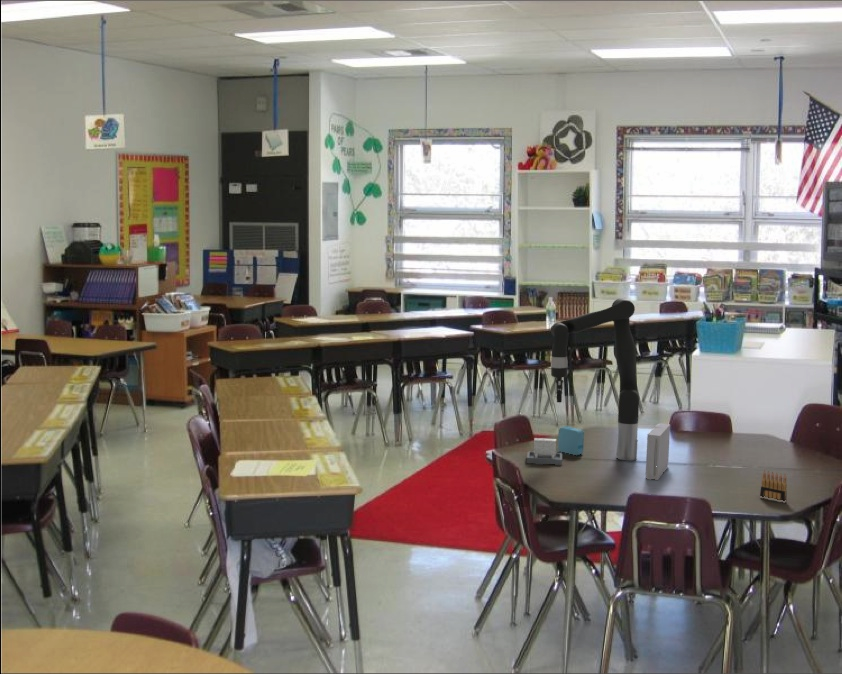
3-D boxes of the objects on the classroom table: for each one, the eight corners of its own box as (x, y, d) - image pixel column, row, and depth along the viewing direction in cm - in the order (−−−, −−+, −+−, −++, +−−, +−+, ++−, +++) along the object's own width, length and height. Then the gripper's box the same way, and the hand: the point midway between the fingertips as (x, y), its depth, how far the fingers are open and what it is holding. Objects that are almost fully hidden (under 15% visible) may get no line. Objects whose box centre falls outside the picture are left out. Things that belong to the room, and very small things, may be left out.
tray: (561, 458, 524) (562, 450, 523) (561, 465, 511) (562, 456, 510) (527, 457, 525) (527, 448, 525) (526, 463, 513) (526, 454, 512)
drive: (555, 458, 519) (556, 439, 518) (555, 460, 515) (556, 441, 514) (533, 457, 521) (534, 438, 520) (533, 459, 516) (534, 440, 515)
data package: (583, 454, 533) (584, 430, 531) (577, 456, 529) (578, 431, 528) (563, 450, 541) (564, 425, 540) (557, 451, 538) (558, 427, 537)
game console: (644, 479, 490) (646, 434, 487) (655, 465, 515) (657, 423, 512) (657, 480, 488) (659, 435, 485) (668, 466, 513) (670, 424, 510)
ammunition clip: (759, 498, 462) (761, 470, 461) (761, 497, 464) (763, 469, 462) (784, 503, 455) (786, 474, 454) (786, 502, 457) (788, 474, 455)
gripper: (567, 368, 511) (567, 403, 513) (567, 363, 525) (566, 398, 527) (551, 368, 512) (551, 403, 514) (550, 363, 526) (550, 397, 528)
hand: (559, 400), depth 521 cm, fingers open, 8 cm apart
